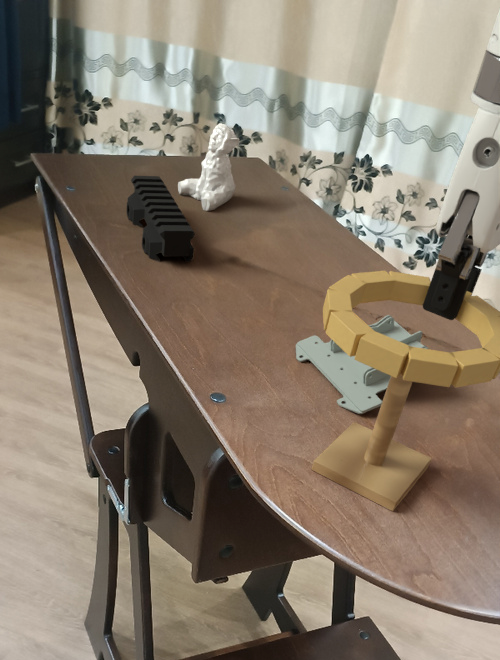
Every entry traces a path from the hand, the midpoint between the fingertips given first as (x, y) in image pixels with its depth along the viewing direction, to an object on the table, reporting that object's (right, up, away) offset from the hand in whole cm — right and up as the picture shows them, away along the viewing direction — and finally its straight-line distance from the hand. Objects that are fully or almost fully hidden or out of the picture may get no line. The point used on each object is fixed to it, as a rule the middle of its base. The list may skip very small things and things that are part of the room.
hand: (444, 307), depth 66 cm
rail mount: (-30, +22, +42) cm, 57 cm away
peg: (-6, -15, +6) cm, 17 cm away
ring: (-4, -3, -4) cm, 7 cm away
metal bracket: (-3, -3, +19) cm, 20 cm away
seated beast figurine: (-22, +34, +56) cm, 70 cm away
